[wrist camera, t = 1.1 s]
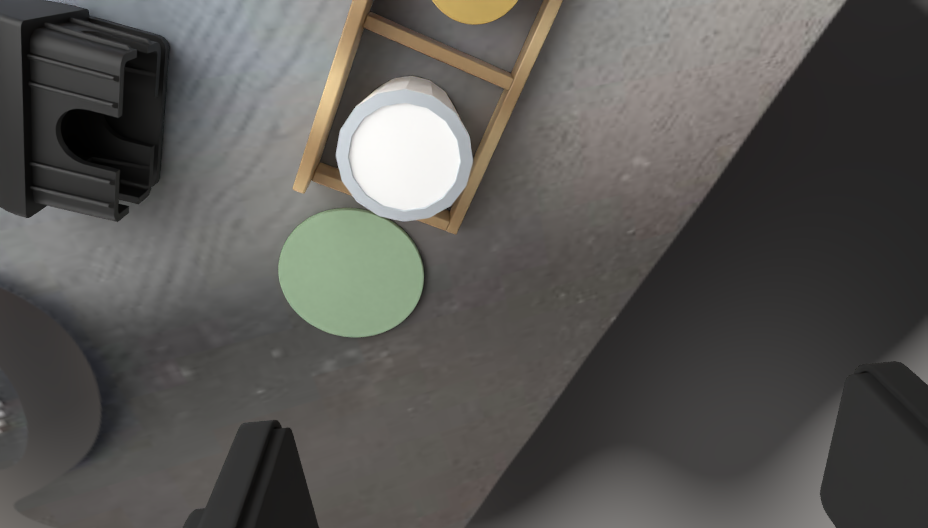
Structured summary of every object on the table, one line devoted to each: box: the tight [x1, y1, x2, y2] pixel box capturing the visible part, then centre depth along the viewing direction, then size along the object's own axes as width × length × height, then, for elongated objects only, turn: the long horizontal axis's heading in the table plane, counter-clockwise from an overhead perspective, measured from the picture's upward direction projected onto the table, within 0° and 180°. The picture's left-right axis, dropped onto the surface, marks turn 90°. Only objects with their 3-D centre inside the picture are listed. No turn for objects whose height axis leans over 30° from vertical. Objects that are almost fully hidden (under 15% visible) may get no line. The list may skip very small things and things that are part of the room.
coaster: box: [278, 208, 424, 337], centre depth 42 cm, size 10×10×1 cm
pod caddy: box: [293, 0, 563, 234], centre depth 34 cm, size 19×10×4 cm, turn 157°
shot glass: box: [336, 76, 473, 222], centre depth 34 cm, size 7×7×7 cm
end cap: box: [0, 0, 169, 222], centre depth 33 cm, size 10×7×7 cm
